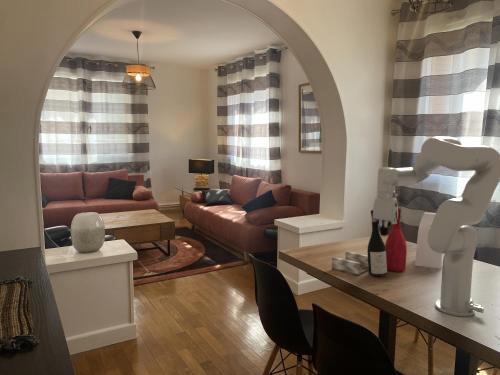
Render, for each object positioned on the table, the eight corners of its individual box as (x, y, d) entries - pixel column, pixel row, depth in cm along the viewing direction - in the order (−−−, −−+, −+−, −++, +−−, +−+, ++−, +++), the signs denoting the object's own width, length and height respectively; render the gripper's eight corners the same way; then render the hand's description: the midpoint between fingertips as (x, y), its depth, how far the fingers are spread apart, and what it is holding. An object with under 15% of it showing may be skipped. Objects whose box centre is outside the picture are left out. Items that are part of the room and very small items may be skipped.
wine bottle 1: (389, 276, 168) (385, 210, 167) (372, 277, 169) (367, 211, 167) (383, 271, 176) (379, 208, 175) (366, 272, 177) (362, 209, 175)
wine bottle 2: (407, 273, 176) (410, 210, 172) (385, 271, 178) (388, 209, 174) (403, 266, 185) (406, 206, 182) (382, 265, 187) (384, 206, 184)
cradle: (372, 268, 182) (373, 256, 181) (358, 276, 171) (358, 263, 171) (346, 262, 191) (347, 251, 191) (331, 269, 181) (332, 257, 180)
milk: (441, 262, 192) (444, 212, 189) (441, 268, 182) (444, 216, 179) (416, 259, 197) (418, 210, 194) (414, 265, 187) (417, 214, 184)
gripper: (406, 195, 164) (403, 236, 167) (373, 192, 175) (372, 231, 177) (399, 197, 159) (397, 239, 161) (366, 194, 169) (364, 234, 171)
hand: (384, 235), depth 169 cm, fingers closed
